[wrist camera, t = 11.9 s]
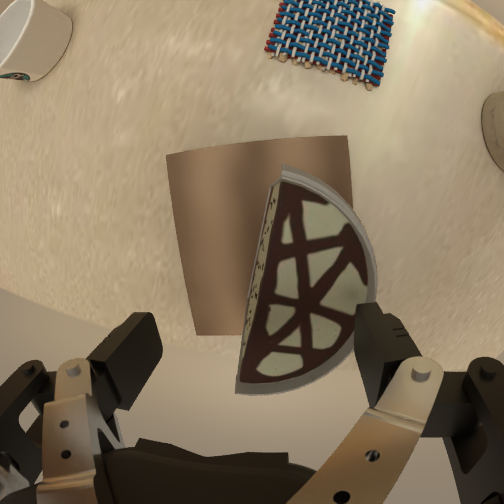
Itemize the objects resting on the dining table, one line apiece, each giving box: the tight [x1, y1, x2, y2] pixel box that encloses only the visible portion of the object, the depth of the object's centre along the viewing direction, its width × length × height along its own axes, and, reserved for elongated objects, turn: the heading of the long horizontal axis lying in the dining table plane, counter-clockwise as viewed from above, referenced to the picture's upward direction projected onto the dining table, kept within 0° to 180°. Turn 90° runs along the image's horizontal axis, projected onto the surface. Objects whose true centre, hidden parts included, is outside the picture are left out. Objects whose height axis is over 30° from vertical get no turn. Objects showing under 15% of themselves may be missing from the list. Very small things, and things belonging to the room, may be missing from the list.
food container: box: [235, 164, 377, 396], centre depth 17 cm, size 12×6×10 cm, turn 169°
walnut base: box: [166, 136, 353, 335], centre depth 24 cm, size 14×16×3 cm
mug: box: [0, 0, 72, 82], centre depth 17 cm, size 13×10×8 cm
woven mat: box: [264, 0, 395, 90], centre depth 18 cm, size 10×11×2 cm
